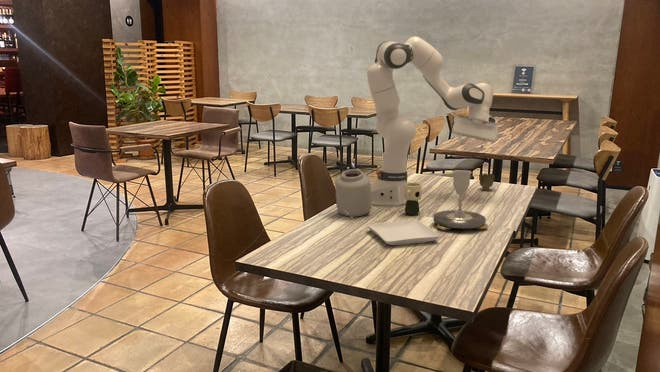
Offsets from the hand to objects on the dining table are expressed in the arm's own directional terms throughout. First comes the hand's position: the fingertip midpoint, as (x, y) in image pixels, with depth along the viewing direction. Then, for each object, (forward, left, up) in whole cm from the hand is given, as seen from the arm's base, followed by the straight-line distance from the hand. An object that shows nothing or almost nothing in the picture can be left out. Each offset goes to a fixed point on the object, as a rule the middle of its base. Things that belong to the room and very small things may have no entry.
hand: (471, 147), depth 249 cm
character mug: (-30, -18, -26) cm, 43 cm away
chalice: (-15, -35, -22) cm, 44 cm away
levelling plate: (-15, -36, -26) cm, 46 cm away
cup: (+16, +22, -26) cm, 38 cm away
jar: (-55, -17, -26) cm, 63 cm away
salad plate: (-40, -48, -26) cm, 67 cm away
